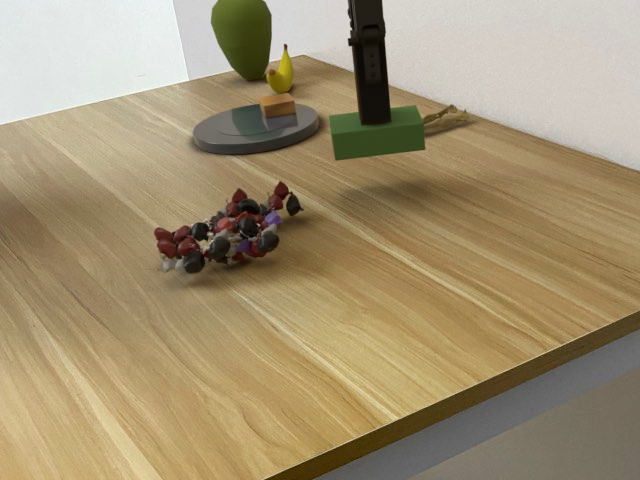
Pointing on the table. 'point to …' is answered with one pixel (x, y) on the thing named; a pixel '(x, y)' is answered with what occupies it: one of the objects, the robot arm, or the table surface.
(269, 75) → the fruit
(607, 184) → the table surface
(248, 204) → the dark lumpy cluster
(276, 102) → the orange flat block
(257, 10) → the green mango
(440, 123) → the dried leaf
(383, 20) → the robot arm
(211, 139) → the plate
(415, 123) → the sponge brush
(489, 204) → the table surface
